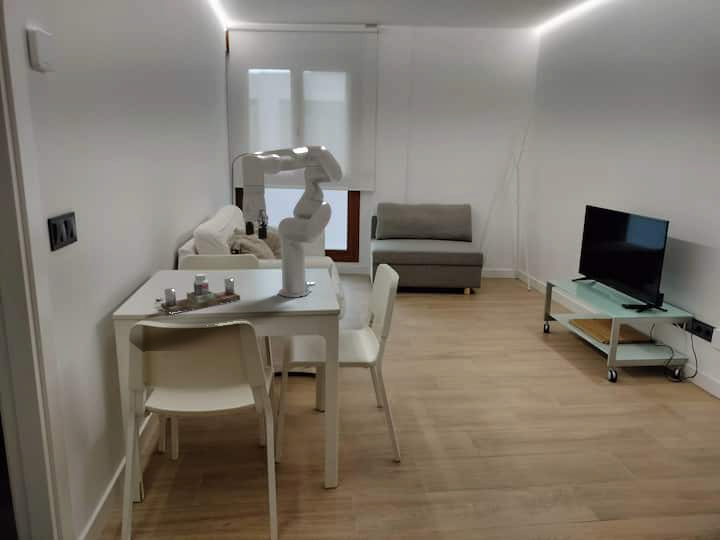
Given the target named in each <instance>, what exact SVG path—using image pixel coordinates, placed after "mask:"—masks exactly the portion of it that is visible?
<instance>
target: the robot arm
mask: <svg viewBox="0 0 720 540" xmlns="http://www.w3.org/2000/svg"><path fill="white" fill-rule="evenodd" d="M241 157H242V158H241V170H242V171H241V173H242V189H243V190H242V191H243V195H242V218H243V221H244V227H245V228H244V229H245V236H253V235H255V226H254V223H256V224H257V226H258V228H257V234H258V235H257V236H258V240H265V239H267V238H268V230H267V228H268V224H269V216H268V215H267V207H266V206H267V205H266V199H265V197H266V196H265V194H266V192H265V175H271V176H272V175H276V174H279V173H280V172H289V171H295V170H299V169H304V170H303V171H304V172H303V176H304V184H305V190H304V192H303V194H302V195H301V196H300V198H299V200H298V201H297V203H296V204H295V206H294V208H293V211H292V214H293V217H285V218H283V219H282V220H281V221H280V222H279V223H278V231H277V232H278V237H279V241H280V248H281V249H280V250H281V283H282V286H281V287H282V288H280V289H279V290H278V295H279V296H281V295H282V296H281V297H284V296H286V297H285V298H301V297H300V296H302V297H305V295H306V296H308V295H309V294H310V289H309V288H311V287H315V286H316V283H315V281H310V282H309V281H306V251H305V248H304V245H303V243H306V244H314V243H317V242H318V241H319V238H320V237H321V236H322V235H323V232H324V231H325V228H326V227H327V226H328V224H329V223H330V220H331V218H332V208H331V205H330V203H328V202H327V201H325V200H324V197H325V195H324V191H323V189H322V188H321V185H320V184H330V185H331V184H333V185H334V184H337V183H339V182H340V181H341V180H342V177H343V170H342V167H341V165H340V163H339V161H338V160H337V159H336V158H335V156H334V155H333V153H332V152H331V151H330V150H329V149H328V148H327V147H325V146H323V145H301V146H296V147H289V148H281V149H274V150H264V151H258V152H257V151H256V152H251V153H249V154H245V155H243V156H241Z"/></svg>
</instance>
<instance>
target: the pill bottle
mask: <svg viewBox="0 0 720 540" xmlns="http://www.w3.org/2000/svg"><path fill="white" fill-rule="evenodd" d="M194 279H195V280H194V281H193V292H194V295H195V296H202V295H208V294H209V291H210V290H209V289H210V288H209V281H208V279H207V273H196V274H195V275H194Z"/></svg>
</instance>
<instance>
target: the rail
mask: <svg viewBox="0 0 720 540" xmlns="http://www.w3.org/2000/svg"><path fill="white" fill-rule="evenodd" d="M236 300H240V301H241V295H240V294H238V293H236V292H234V295H225V291H222V292H213V291H211V290H209V294H208V295H202V296H195V295H194V291H189V292H186V298H184V299H179V300H176V306H173V307H167V306H166V302H163V303H160V308H161V307H162V308H163V309H165V310H167V311H168V312H171V313H172V312H178V311H185V310H191V311H193V310H192V309H195V310H199V309H198V308H200V309H204V308H203V307H205V308H209V307H208V306H210V307H214V306H213V305H215V306H217V305H216V304H220V303H225V304H227V303H226V302H230V303H232V302H231V301H235V302H237V301H236ZM220 305H221V304H220ZM163 309H162V310H163ZM168 312H167V313H168Z"/></svg>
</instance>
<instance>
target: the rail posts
mask: <svg viewBox="0 0 720 540" xmlns="http://www.w3.org/2000/svg"><path fill="white" fill-rule="evenodd" d="M224 292H225V295H234V293H235V279H234V278H232V277H231V278H230V277H229V278H225V279H224ZM176 297H177V296H176V288H172V287H171V288H166V289H164V299H165V303H166V306H167V307H173V306H176V301H177V300H176Z"/></svg>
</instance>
